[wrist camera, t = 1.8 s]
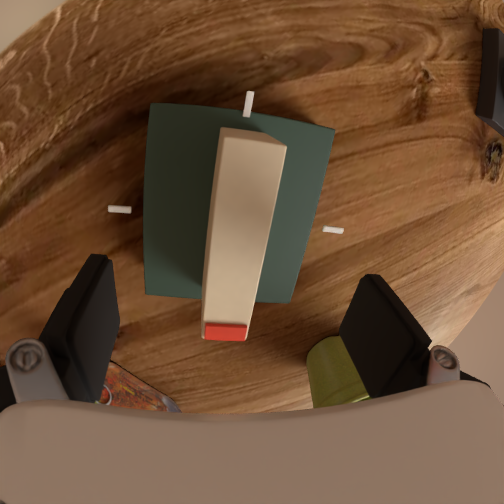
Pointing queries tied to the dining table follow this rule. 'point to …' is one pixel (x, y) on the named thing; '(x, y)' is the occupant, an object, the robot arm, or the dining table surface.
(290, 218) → the dial base
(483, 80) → the control block
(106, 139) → the dining table surface
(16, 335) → the dining table surface
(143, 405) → the tin
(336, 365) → the plant pot
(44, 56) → the dining table surface
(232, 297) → the beige rectangular block
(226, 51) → the dining table surface
